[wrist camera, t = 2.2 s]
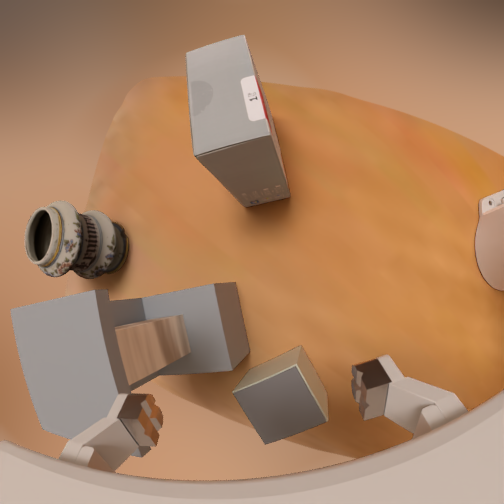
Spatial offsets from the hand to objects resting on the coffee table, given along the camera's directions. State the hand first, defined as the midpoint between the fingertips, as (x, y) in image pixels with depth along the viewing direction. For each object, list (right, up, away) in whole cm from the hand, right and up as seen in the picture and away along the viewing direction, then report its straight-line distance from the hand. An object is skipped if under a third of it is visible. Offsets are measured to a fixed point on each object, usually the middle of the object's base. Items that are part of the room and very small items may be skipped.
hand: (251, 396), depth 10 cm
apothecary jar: (-27, +6, +40) cm, 49 cm away
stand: (+6, -14, +30) cm, 34 cm away
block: (-11, -5, +25) cm, 28 cm away
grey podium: (-7, -6, +34) cm, 35 cm away
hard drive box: (+1, +21, +34) cm, 40 cm away
